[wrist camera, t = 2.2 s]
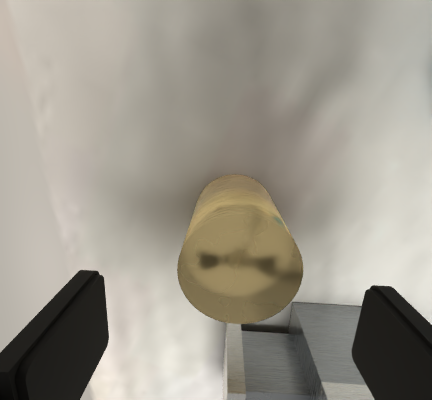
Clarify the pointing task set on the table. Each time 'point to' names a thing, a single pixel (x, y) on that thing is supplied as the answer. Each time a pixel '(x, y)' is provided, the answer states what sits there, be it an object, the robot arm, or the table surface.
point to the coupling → (238, 254)
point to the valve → (296, 358)
